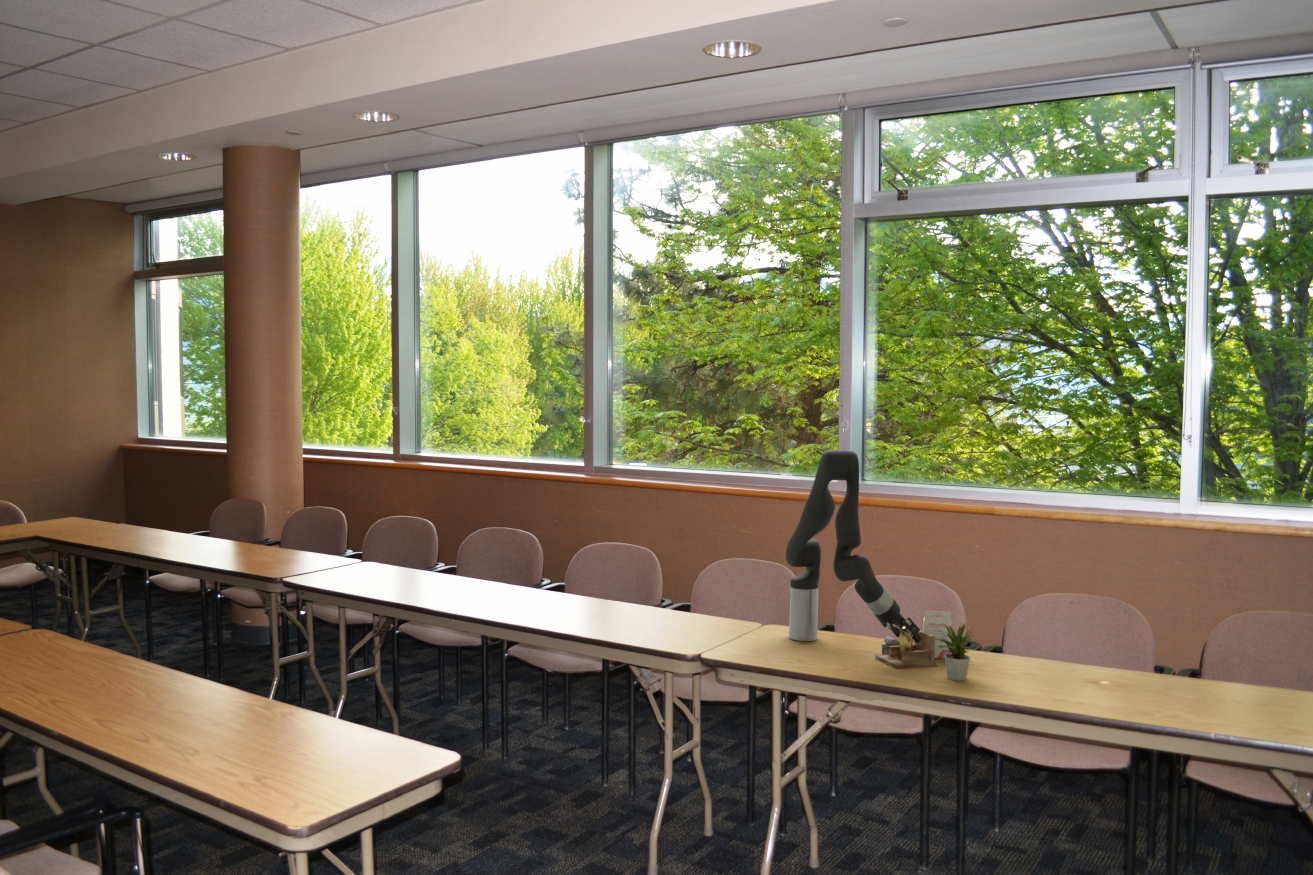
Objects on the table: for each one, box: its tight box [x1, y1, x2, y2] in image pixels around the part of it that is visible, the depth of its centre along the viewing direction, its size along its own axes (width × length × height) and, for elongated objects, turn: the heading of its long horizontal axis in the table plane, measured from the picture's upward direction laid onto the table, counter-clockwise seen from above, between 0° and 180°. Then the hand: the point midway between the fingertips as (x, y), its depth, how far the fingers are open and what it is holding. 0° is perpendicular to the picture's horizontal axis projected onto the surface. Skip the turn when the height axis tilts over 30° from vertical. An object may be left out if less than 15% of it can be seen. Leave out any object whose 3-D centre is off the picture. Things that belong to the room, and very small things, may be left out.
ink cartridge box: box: [922, 610, 953, 660], centre depth 303 cm, size 9×5×15 cm, turn 76°
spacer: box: [898, 626, 914, 659], centre depth 296 cm, size 4×4×10 cm
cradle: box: [874, 629, 938, 669], centre depth 299 cm, size 16×14×8 cm
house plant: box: [931, 621, 980, 681], centre depth 281 cm, size 14×14×16 cm
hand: (909, 637), depth 297 cm, fingers open, 8 cm apart
